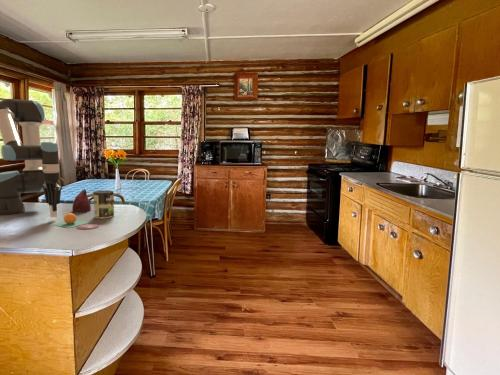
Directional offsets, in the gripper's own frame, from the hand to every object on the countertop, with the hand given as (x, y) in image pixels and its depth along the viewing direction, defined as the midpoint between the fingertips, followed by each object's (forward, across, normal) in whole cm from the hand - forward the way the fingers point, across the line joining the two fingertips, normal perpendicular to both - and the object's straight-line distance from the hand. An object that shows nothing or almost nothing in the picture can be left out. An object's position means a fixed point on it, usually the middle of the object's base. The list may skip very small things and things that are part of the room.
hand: (53, 217), depth 175 cm
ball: (-1, +13, 0) cm, 13 cm away
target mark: (+2, +14, 0) cm, 14 cm away
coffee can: (+2, +14, +20) cm, 25 cm away
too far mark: (+2, +26, 0) cm, 26 cm away
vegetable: (+2, -10, +24) cm, 26 cm away
